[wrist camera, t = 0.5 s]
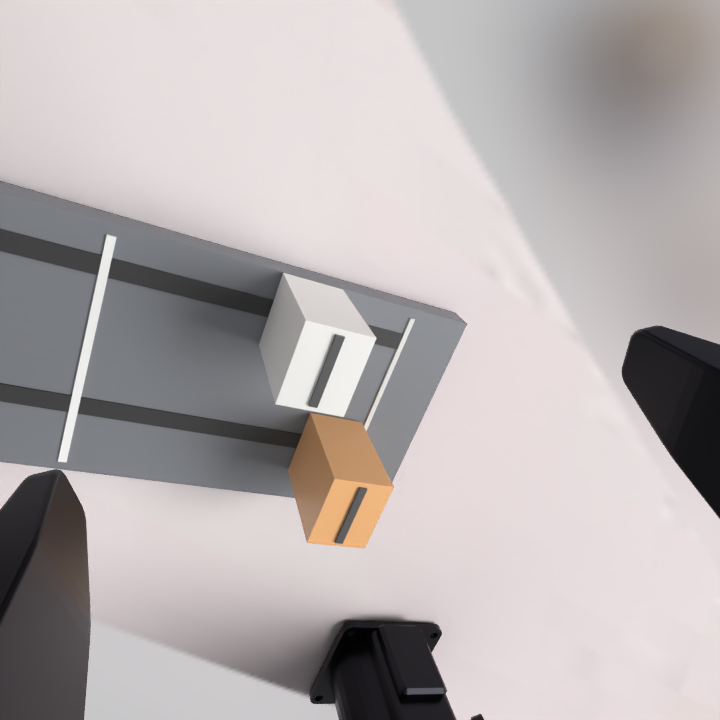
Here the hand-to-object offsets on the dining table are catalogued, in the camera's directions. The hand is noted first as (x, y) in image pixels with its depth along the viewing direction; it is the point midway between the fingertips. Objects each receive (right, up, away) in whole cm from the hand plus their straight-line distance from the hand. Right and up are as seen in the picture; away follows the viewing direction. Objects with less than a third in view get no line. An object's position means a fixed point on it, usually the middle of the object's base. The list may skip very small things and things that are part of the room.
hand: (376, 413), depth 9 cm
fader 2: (-2, -3, +16) cm, 17 cm away
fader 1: (-2, +2, +13) cm, 14 cm away
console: (-7, +1, +14) cm, 16 cm away
